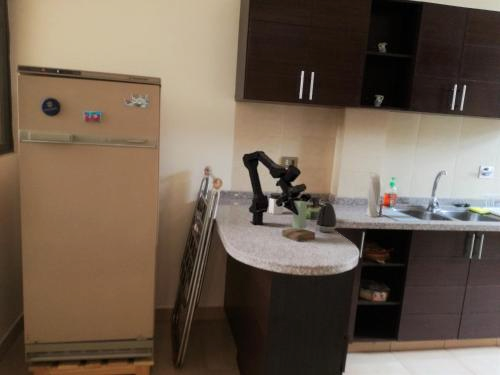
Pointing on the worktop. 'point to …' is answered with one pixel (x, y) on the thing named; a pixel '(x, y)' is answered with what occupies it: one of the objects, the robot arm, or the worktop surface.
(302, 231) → the walnut riser
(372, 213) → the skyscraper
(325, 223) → the dark rounded piece
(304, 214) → the green block
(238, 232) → the worktop surface
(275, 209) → the jar
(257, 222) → the robot arm
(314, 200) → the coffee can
